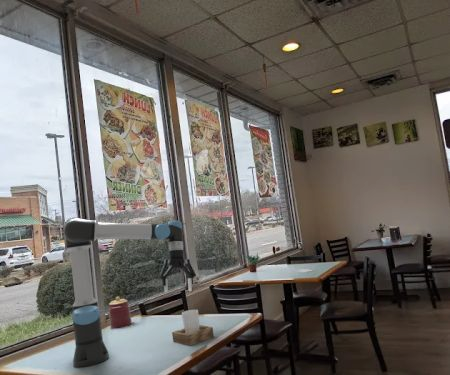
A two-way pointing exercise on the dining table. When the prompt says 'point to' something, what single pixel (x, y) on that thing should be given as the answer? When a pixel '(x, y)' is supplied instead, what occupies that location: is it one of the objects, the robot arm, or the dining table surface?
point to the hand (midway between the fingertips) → (178, 291)
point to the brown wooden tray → (193, 335)
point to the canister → (119, 313)
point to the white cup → (191, 321)
